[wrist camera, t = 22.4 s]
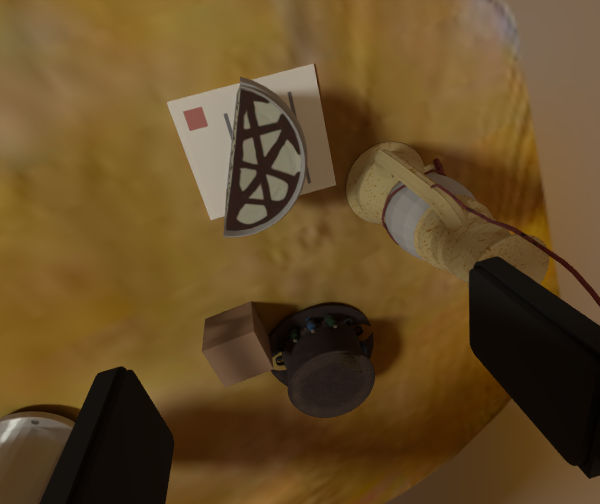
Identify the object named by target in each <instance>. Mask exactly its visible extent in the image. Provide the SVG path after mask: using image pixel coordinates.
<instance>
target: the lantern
mask: <svg viewBox="0 0 600 504" xmlns="http://www.w3.org/2000/svg"><path fill="white" fill-rule="evenodd" d="M433 162H434V163H432V164H429V165H427V166H424V163H423V161H422V159H421V157H420V156H419V154H418V153H417V152H416V151H415V150H414V149H413V148H411V147H410V146H408V145H406V144H403V143H400V142H384V143H380V144H377V145H375V146H373V147H371V148H369V149H368V150H366V151H365V152H364V153H363V154H361V155H360V156H359V158H358V159H357V160H356V161H355V163H354V164H353V166H352V167H351V169H350V171H349V174H348V176H347V182H346V196H347V199H348V202H349V205H350V207H351V208H352V210H353V211H354V212H355V213H356V214H357V215H358V216H359V217H360V218H362V219H364V220H366V221H368V222H372V223H378V224H381V225H383V226H384V227H385V229H386V230H387V232H388V234H389V236H390V237H391V238H392V240H393V241H394V242H395V243H396V244H398V245H400V246H401V248H402V249H404V250H405V251H407V252H409V253H410V254H412V255H413V256H415V257H417V258H420V259H422V260H424V261H426V262H428V263H430V264H431V265H432V266H434V267H437V268H439V269H442V270H446V271H448V272H450V273H452V274H454V275H455V276H456V277H457V278H459V279H461V280H463V281H465V282H468V286H469V271H470V270H471V269H473V268H474V264H475V263H476V262H478V261H481V260H485V259H488V258H492V257H495V256H498V257H500V258H502V259H504V260H505V261H507V262H508V263H509V264H511V265H512V266H514V267H515V268H517V269H518V270H520V271H521V272H522V273H524V274H525V275H527V276H528V277H530V278H531V279H533V280H534V281H535V282H537V283H538V284H540V283H541V282H542V280H543V278H544V276H545V274H546V272H547V270H548V264H549V256H550V257H552V258H553V259H555V260H556V261H558V262H559V263H561V264H562V265H563V266H564V267H565V268H566V269H567V270H569V271H570V272H571V273H572V274H573V275H574V276H575V277H576V279H577V280H578V281H579V282H580V283H581V284H582V285H583V287H584V288H585V289H586V290H587V291H588V292H589V293H590V295H591V296H592V297H593V299H594V300H595V301H596V303H597V304H598V305H599V306H600V297H599V296H598V295H597V293H596V292H595V291H594V290H593V289H592V287H591V286H590V285H589V284H588V283H587V282H586V281H585V280H584V278H583V277H582V276H581V275H580V274H579V273H578V272H577V271H576V270H575V269H574V268H573V267H572V266H570V265H569V264H568V263H567V262H566V261H565V260H563V259H562V258H560V257H559V256H558V255H556V254H555V253H553V252H552V251H550V250H549V249H547V247H546V245H545V244H544V243H543V241H541V240H540V239H539V238H537V237H535V236H531V235H526V234H524V233H523V232H521V231H519V230H518V229H516V228H514V227H513V226H510V225H507V224H504V223H501V222H498V221H496V219H495V218H494V217H492V214H491V213H490V211H489V210H488V209H487V207H486V206H484V205H482V204H481V203H479V202H478V201H477V200H476V199H475V197H474V196H473V195H472V193H471V192H470V191H469V190H467V189H466V188H465V187H464V186H463V185H462V184H460V183H459V182H457V181H455V180H454V179H452V178H450V177H446V175H445V174H444V171H443V167H442V165H441V163H440V161H439V159H438V158H437V159H434V160H433ZM507 229H508V230H510V231H513V232H514V233H516V235H511V234H510V233H509V231H508V230H507Z"/></svg>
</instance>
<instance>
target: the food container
mask: <svg viewBox="0 0 600 504" xmlns="http://www.w3.org/2000/svg"><path fill="white" fill-rule="evenodd" d="M307 162H308V158H307V146H306V141H305V136H304V134H303V131H302V128H301V125H300V124H299V122H298V120H297V118H296V116H295V114H294V113H293V112H292V110H291V109H290V108H289V106H288V105H287V104H286V103H285V102H284V101H283V100H282V99H281V98H280V97H279V96H278V95H277V94H275V93H274V92H273V91H271V90H270V89H268V88H267V87H265V86H263V85H261V84H259V83H257V82H255V81H253V80H249V79H246V78H242V77H240V86H239V89H238V91H237V94H236V104H235V113H234V122H233V132H232V141H231V151H230V160H229V170H228V179H227V189H226V205H225V222H224V237H241V236H247V235H251V234H255V233H258V232H260V231H262V230H265V229H267V228H269V227H270V226H272V225H274V224H275V223H277V222H278V221H279V220H280V219H282V218H283V217H284V216H285V215H286V214H287V213H288V212H289V210H290V209H291V208H292V207H293V205H294V204H295V202H296V201H297V199H298V197H299V195H300V193H301V191H302V188H303V185H304V182H305V178H306V171H307Z"/></svg>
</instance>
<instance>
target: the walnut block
mask: <svg viewBox="0 0 600 504" xmlns="http://www.w3.org/2000/svg"><path fill="white" fill-rule="evenodd" d="M202 352H203V354H204V355H205V357H206V359H207V360H208V362H209V363H210V365H211V366H212V368H213V370H214V371H215V373H216V374H217V376H218V377H219V379H220V380H221V382H222V384H223V385H224V387H225V388H226V387H228V386H231V385H233V384H236V383H239V382H241V381H244V380H246V379H249V378H251V377H254V376H257V375H259V374H262V373H264V372H267V371H269V370H272V369H273V362H272V355H271V348H270V341H269V336H268V334H267V332H266V330H265V328H264V326H263V324H262V322H261V320H260V318H259V316H258V314H257V312H256V310H255V308H254V306H253V304H252V302H248V303H246V304H243V305H240V306H238V307H235V308H233V309H230V310H228V311H225V312H222V313H220V314H217V315H215V316H212V317H209V318H207V319H205V327H204V337H203V346H202Z"/></svg>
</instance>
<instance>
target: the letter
mask: <svg viewBox="0 0 600 504" xmlns="http://www.w3.org/2000/svg"><path fill="white" fill-rule="evenodd" d="M253 81H255V82H257V83H259V84H261V85H263V86H265V87H267V88H268V89H270V90H271V91H273V92H274V93H275V94H277V95H278V96H279V97H280V98H281V99H282V100H283V101H284V102H285V103H286V104H287V105H288V106H289V108H290V109H291V110H292V112H293V113H294V114H295V116H296V118H297V120H298V122H299V124H300V125H301V128H302V131H303V134H304V136H305V141H306V146H307V158H308V162H307V171H306V178H305V182H304V185H303V188H302V191H301V193H300V195H303V194H306V193H310V192H314V191H317V190H321V189H324V188H328V187H331V186H335V185H336V181H335V175H334V170H333V165H332V159H331V154H330V149H329V143H328V138H327V133H326V127H325V122H324V117H323V111H322V106H321V101H320V95H319V90H318V85H317V79H316V74H315V69H314V64H310V65H306V66H303V67H299V68H295V69H291V70H287V71H284V72H280V73H276V74H272V75H268V76H264V77H261V78H257V79H253ZM239 86H240V83H238V84H234V85H230V86H226V87H222V88H219V89H215V90H211V91H207V92H203V93H200V94H196V95H192V96H188V97H184V98H180V99H177V100H173V101H169V102H167V105H168V107H169V110H170V113H171V115H172V118H173V121H174V123H175V126H176V129H177V131H178V134H179V137H180V139H181V142H182V145H183V147H184V150H185V153H186V155H187V158H188V161H189V163H190V166H191V169H192V171H193V174H194V177H195V179H196V182H197V185H198V187H199V190H200V193H201V195H202V198H203V201H204V203H205V206H206V209H207V211H208V214H209V217H210V219H211V220H213V219H217V218H220V217H224V216H225V205H226V189H227V179H228V170H229V160H230V151H231V141H232V132H233V122H234V113H235V104H236V94H237V91H238V89H239Z"/></svg>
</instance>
